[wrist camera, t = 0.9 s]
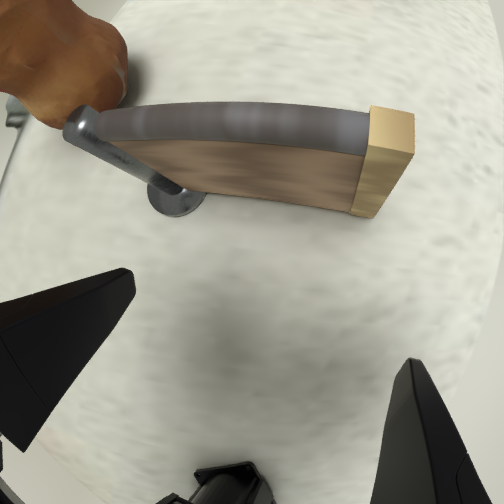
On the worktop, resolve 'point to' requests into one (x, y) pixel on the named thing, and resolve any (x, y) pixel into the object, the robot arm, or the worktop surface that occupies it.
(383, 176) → the gate leaf
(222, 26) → the worktop surface
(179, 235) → the worktop surface
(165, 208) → the hinge post
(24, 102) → the butternut squash
